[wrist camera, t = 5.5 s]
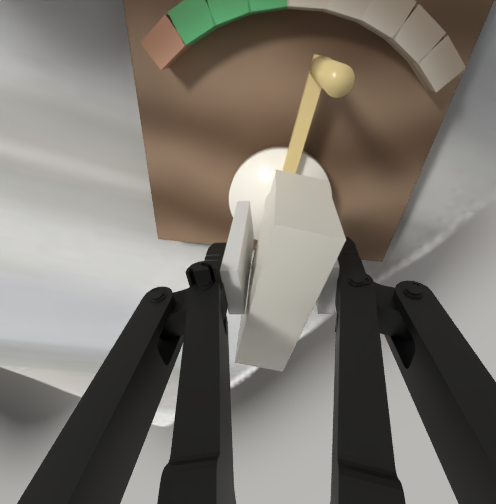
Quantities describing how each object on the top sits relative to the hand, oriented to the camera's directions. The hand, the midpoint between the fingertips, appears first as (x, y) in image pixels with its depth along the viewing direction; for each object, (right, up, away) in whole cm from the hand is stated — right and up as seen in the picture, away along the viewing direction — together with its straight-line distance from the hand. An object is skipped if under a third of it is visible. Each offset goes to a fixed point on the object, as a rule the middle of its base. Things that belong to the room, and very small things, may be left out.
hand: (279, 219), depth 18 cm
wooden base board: (+1, +7, +2) cm, 7 cm away
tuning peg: (+1, +4, +1) cm, 4 cm away
